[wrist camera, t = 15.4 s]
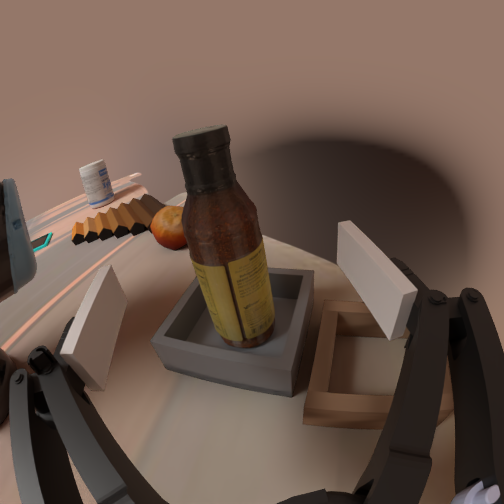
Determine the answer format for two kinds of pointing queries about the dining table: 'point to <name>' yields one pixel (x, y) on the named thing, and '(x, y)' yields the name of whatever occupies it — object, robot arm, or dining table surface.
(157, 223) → the fruit
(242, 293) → the sauce bottle
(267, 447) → the dining table surface
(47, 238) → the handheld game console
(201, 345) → the grey square tray
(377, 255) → the robot arm
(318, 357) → the walnut holder
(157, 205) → the brown ridged flat piece
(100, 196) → the supplement tub
